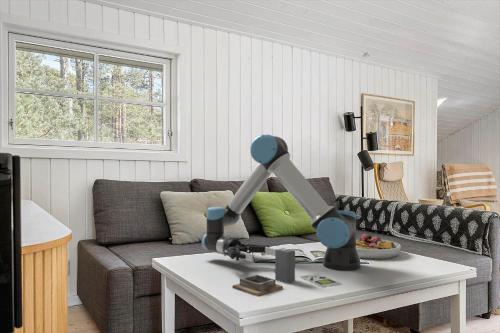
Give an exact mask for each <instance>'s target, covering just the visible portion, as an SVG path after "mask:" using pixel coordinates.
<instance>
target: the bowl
mask: <svg viewBox="0 0 500 333" xmlns="http://www.w3.org/2000/svg"><path fill="white" fill-rule="evenodd" d="M401 248H402V246H401V244H400V243H398V242H395V241H393V240H392V241H391V240H387V239H381V237H380V236H378V235H374V236H373V237H372V236H371V234H370V233H363V234H361V236H360V237H356V250H357V253H358V256H359V257H360V258H359V259H364V260H365V259H366V260H385V259H387V260H388V259H392V258H394V257H396V256H398V255H399V254H400V252H401V250H402V249H401Z"/></svg>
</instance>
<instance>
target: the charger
mask: <svg viewBox="0 0 500 333" xmlns="http://www.w3.org/2000/svg"><path fill="white" fill-rule="evenodd" d="M276 249H277V250H275V256H274V257H275V258H274V259H275V260H274V261H275V264H274V265H275V266H274V267H275V268H274V270H275V271H274V272H275V276H274V277H275V278H274V279H275V280H276V281H277V282H281V283H284V284H289V283H293V282H295V281H296V250H295V249H290V248H276Z"/></svg>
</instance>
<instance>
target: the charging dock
mask: <svg viewBox="0 0 500 333" xmlns="http://www.w3.org/2000/svg"><path fill="white" fill-rule="evenodd" d="M276 281H277V280H275V278H274V279H273V278H271V277H267V276H264V275H261V274H253V275H249V276H244V277H242V278H241V277H240V278H239V283H235V284H233V285H232V288H233V289H235V290H239V291H242V292H243V293H247V294H249V295H250V294H251V295H252V296H256V297H260V296H262V295H265V294H269V293H272V292H275V291H279V290H281V289H283V285H280V284H276V283H277V282H276Z"/></svg>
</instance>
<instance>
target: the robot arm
mask: <svg viewBox="0 0 500 333" xmlns="http://www.w3.org/2000/svg"><path fill="white" fill-rule="evenodd" d="M287 144H288V143H287V142H286V140H284V139H283V138H281V137H279V136H277V135H275V136H274V135H271V134H267V133H265V134H260V135H258V136H257V137H255V138H254V139H253V140H252V142H251V143H250V149H249V150H250V156H251V158H252V159H253V161H255V162H256V163H257V164H256V165H255V167H254V168H253V169H252V170H251V172H250V173H249V175H248V176H247V178H245V180H244V181H243V183H242V184H241V186H240V187H239V188H238V190H237V191H236V193H235V194H234V195H233V196H232V198H231V199H230V200H229V202H227V203H228V204H227V205H226V206H225V207H222V206H212V207H211V206H210V207H207V210H206V233H205V234H204V235H203V237H202V239H201V245H202V249H204V250H205V251H208V252H212V253H215V254H220V255H223V257H226V256H228V257H229V258H230V259H231V260H235V261H237V262H238V261H240V260H243V261H247V262H251V263H253V262H254V254H253V253H255V254H257V253H258V254H265V255H267V256H268V255H269V256H273V257H275V250H277V249H278V248H273V247H270V246H271V245H268V244H266V245H264V244H254V243H253V244H252V243H247V244H244V243H241V241H240V240H239V239H238V238H234V237H228V236H225V235H224V233H225V227H228V226H232V225H235V224H237V223H238V222H239V221H240V218H241V214H242V213H243V211H244V210H245V208H246V207H247V206H248V205H249V203H251V200H253V198H254V197H255V196H256V194H257V193H258V192H259V190H260V189H261V187H262V186H263V185H264V184H265V182H266V181H267V180H268V178H269V177H270V176H271V174H273V175H274V176H275V177H276V178H277V179H278V180H279V181H280V183H281V185H282V186H283V187H284V188H285V189H286V191H287V192H288V193H289V194H290V195H291V197H292V198H293V199H294V201H296V203H297V204H298V205H299V206H300V208H301V209H302V210H303V212H304V213H305V214H306V215H307V217H308V218H310V225H311V227H312V229H313V230H314V231H315V233H316V237H317V239H318V241H319V242H320V244H322V246H324V247H325V248H326V250H325V253H324V256H323V259H322V265H323V267H325V268H327V269H330V270H334V271H335V270H337V271H354V270H355V271H356V270H358V269H361V260H360V259H361V258H359V256H358V253H357V250H356V238H357V214H356V212H355V211H350V210H338V209H336V208H337V207H335V206H332V205H329V204H327V202H326V201H325V200H324V199H323V198H322V197H321V195H320V194H319V193H318V191H317V190H316V189H315V188H314V187H313V186H312V184H310V182H309V181H308V180H307V179H306V177H305V176H304V175H303V173H302V172H301V171H300V170H299V169H298V167H296V165H295V164H294V163H293V162H292V160H291V154H290V152H289V147H288V145H287Z"/></svg>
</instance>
